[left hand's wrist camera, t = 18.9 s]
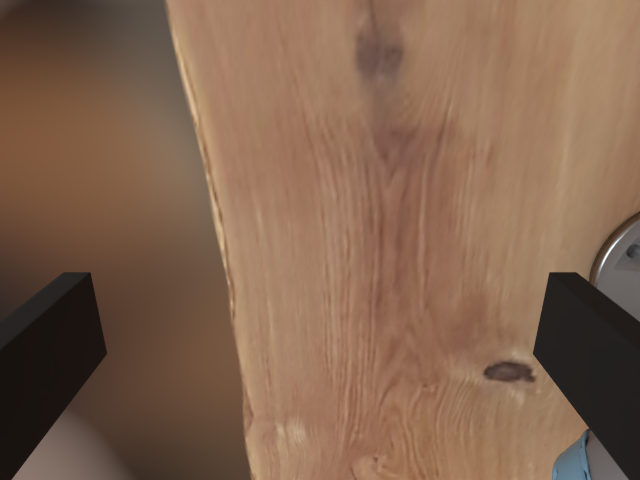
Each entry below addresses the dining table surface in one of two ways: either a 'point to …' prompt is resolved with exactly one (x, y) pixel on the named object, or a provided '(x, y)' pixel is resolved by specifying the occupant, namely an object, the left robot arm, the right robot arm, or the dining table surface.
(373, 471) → the dining table surface
